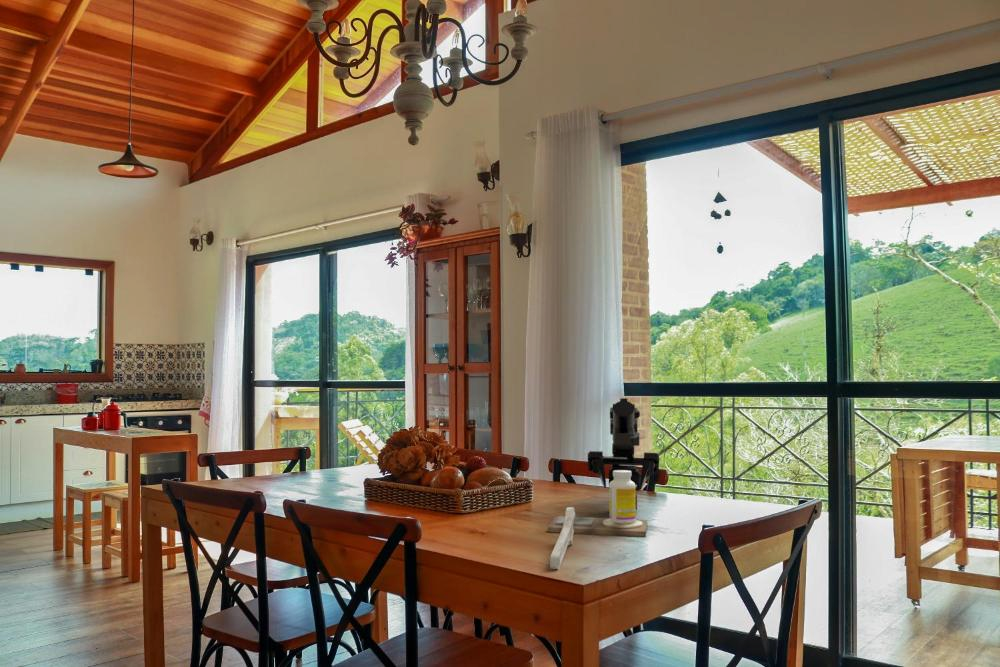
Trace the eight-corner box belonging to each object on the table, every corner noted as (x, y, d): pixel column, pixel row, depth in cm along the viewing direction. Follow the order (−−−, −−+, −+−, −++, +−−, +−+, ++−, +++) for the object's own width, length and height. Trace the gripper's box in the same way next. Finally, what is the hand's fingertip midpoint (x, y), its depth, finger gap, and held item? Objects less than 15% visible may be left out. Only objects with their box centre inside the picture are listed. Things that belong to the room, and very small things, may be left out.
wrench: (549, 584, 170) (568, 536, 199) (558, 584, 170) (576, 537, 199) (549, 545, 169) (567, 503, 199) (558, 546, 169) (575, 504, 198)
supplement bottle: (641, 522, 210) (641, 471, 211) (622, 525, 206) (622, 473, 207) (622, 518, 216) (622, 468, 216) (603, 521, 212) (603, 470, 212)
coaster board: (547, 532, 207) (548, 524, 207) (555, 520, 222) (555, 513, 222) (645, 536, 202) (645, 529, 202) (647, 524, 217) (647, 517, 217)
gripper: (588, 421, 223) (585, 468, 212) (658, 422, 220) (660, 470, 209) (589, 447, 231) (587, 493, 220) (658, 448, 228) (659, 496, 217)
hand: (622, 487), depth 216 cm, fingers open, 9 cm apart
